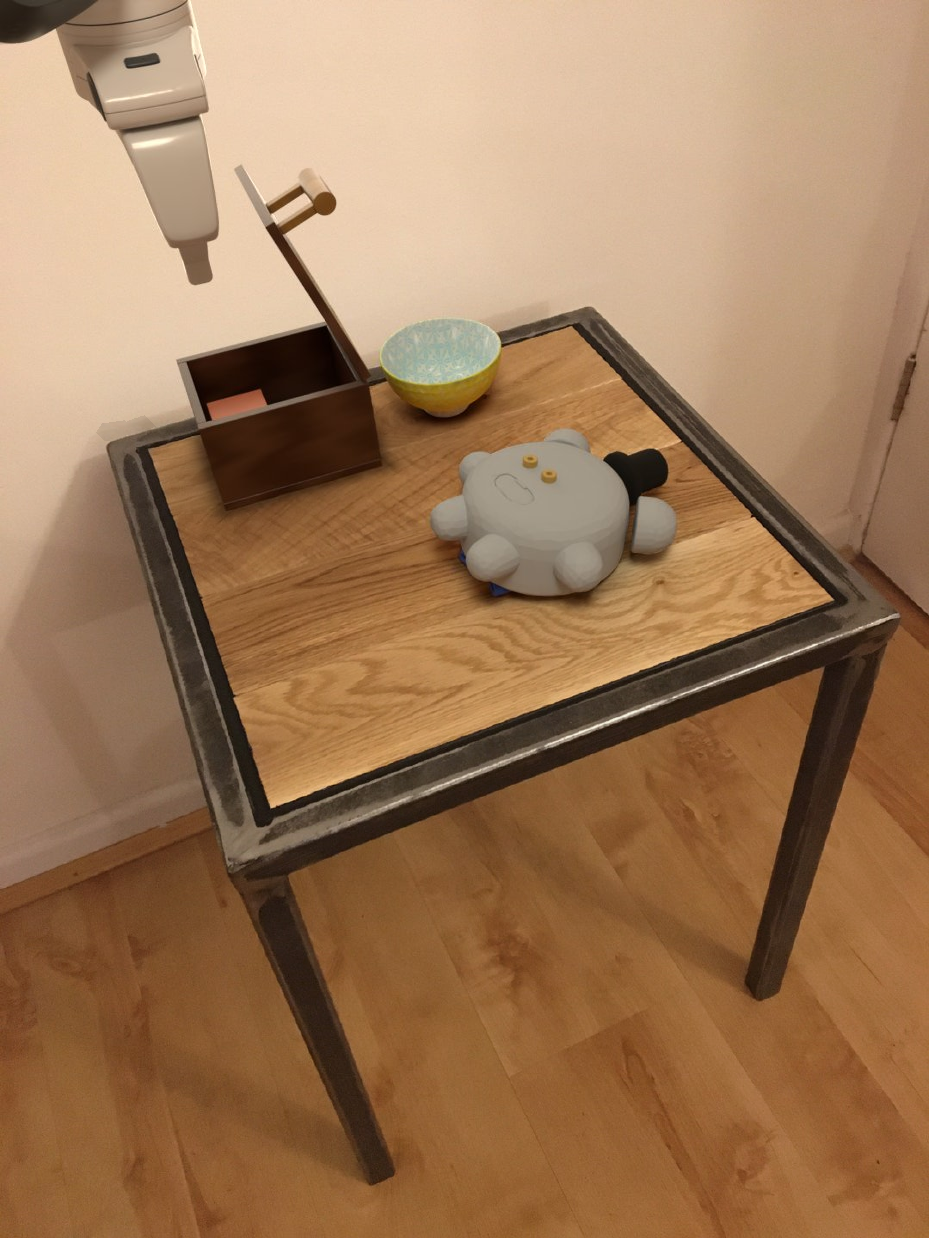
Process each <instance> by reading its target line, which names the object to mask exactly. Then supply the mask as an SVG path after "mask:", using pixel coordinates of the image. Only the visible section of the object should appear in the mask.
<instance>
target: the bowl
mask: <svg viewBox="0 0 929 1238" xmlns="http://www.w3.org/2000/svg"><path fill="white" fill-rule="evenodd" d="M501 357H502V341H501V339H500V336H499V334H498V333H497V332H496V331H495V330H494V329H493V328H492V327H490V326H488V325H487V324H485V323H483V322H480V321H477V320H474V319H470V318H465V317H453V316H449V317H447V316H446V317H445V316H444V317H433V318H428V319H422V320H418V321H416V322H413V323H409V324H407V325H405V326H404V327H401V328H399V329H397V330H396V331H394V332H393V333H392V334H391V335H389V336H388V337H387V339H385V341H384V342H383V344H382V345H381V347H380V350H379V357H378V358H379V364H380V367H381V370H382V373H383V375H384V378H385V380H386V382H387V383H388V385H389V387H391V389H392V391H393V392H394V393H395V394H396V395H397V396H398V397H399V398H401V399H402V400H403V401H404V402H406V403H407V404H409V405H411V406H412V407H415V408H417V409H420V410H424V411H425V412H426V413H427V414H428V415H430V416H432V417H435V418H450V417H451V418H452V417H455V416H458V415H460V414H461V413H463V412H465V411H466V410H467V409H468V407H469V405H470V404H473V402H475V401H477V400H478V399H479V398H481V397H482V396H483V395H484V393H485V392H486V391H488V389H490V386H491V385H492V383H493V382H494V380H495V377H496V375H497V373H498V370H499V366H500V363H501Z"/></svg>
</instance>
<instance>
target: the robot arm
mask: <svg viewBox="0 0 929 1238" xmlns="http://www.w3.org/2000/svg"><path fill="white" fill-rule="evenodd" d="M54 30H55V31H56V34H57V37H58V39H59V44H60V47H61V50H62V54H63V57H64V58H65V59H64V60H65V62H66V64H67V65H66V66H67V67H68V68H67V69H68V71H69V74H70V76H71V77H70V78H71V80H72V83H73V86H74V90H75V92H76V94H77V95H78V96H79V97H80V98H81V99H83V100H85V101H87V102H89V104H90V105H91V106H92V107H94V109H96V110H97V111H98V112H99V114H100V116H101V117H102V119H103V121H104V122H106V125H107V127H108V129H109V130H110V131H112V132H115V133H116V135H117V136H118V138H119V140H120V141H121V143H122V145H123V147H124V150H125V151H126V154H127V156H128V158H129V161H130V163H131V165H132V167H133V169H134V170H133V171H134V172H135V175H136V177H137V179H138V181H139V184H140V187H141V189H142V191H143V193H144V196H145V198H146V201H147V203H148V205H149V208H150V211H151V213H152V215H153V217H154V219H155V222H156V224H157V226H158V228H159V231H160V233H161V235H162V238H163V240H164V241H165V242H166V244H167V246H168V247H169V248H171V249H177V250H178V252H179V255H180V258H181V262H182V265H183V268H184V272H185V275H186V277H187V280H188V283H190V285H193V286H198V285H204V284H208V283H210V282H212V281H213V279H214V278H213V277H214V275H213V271H212V267H211V264H210V259H209V258H210V257H209V249H208V247H209V245H208V243H209V242H212V241H215V240H217V239H218V237H219V236H220V235H219V234H220V216H219V215H220V214H219V206H218V201H217V193H216V188H215V182H214V181H215V180H214V176H213V169H212V162H211V157H210V150H209V145H208V139H207V134H206V128H205V125H204V124H205V123H204V121H203V117H202V115H204V114H205V115H206V114H208V113H209V112H210V104H209V98H208V93H207V89H206V85H205V78H206V76H207V66H206V62H205V57H204V53H203V50H202V44H201V41H200V36H199V31H198V27H197V22H196V17H195V14H194V10H193V6H192V1H191V0H0V45H14V44H24V43H28V42H29V43H30V42H32V41H35V40H36V39H39V38H41V37H43V36H45V35H47V34H49V33H50V32H52V31H54Z"/></svg>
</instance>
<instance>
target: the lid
mask: <svg viewBox="0 0 929 1238" xmlns="http://www.w3.org/2000/svg"><path fill="white" fill-rule="evenodd" d="M233 172H234V173H235V175H236V177H237V179H238V181H239V183H240V184H241V186H242V188H243V190H244V192H245V194H246V196H247V197H248V199H249V201H250V202H251V203H250V204H251V205H252V207H253V208H254V210H255V212H256V214H257V215H258V218H259V219H260V221H261V223H262V225H263V227H264V228H265V230H266V231H267V234H268V235H269V236H270V238H271V239H272V241H273V242H274V245H276V247H277V249H278V250H279V252H280V253H281V256H282V257H283V258H284V259H285V261H286V263H287V264H288V266H289V268H290V269H291V270H292V273H294V275H295V276H296V278H297V280H298V281H299V283H300V284H301V286H302V287H303V289H304V291H305V292H306V293H307V295H308V297H309V299H310V300H311V301H312V303H313V304H314V306H315V307H316V309H317V311H318V312H319V314H320V315H321V317H322V318H323V320H324V322H325V321H326V323H327V325H328V326H329V328H330V329H331V331H332V332H333V334H334V335H335V337H336V338H337V340H338V342H339V343H340V345H341V346H342V348H343V349H344V351H345V352H346V354H347V356H348V357H349V359H350V360H351V362H352V363H353V365H354V366H355V368H356V369H357V371H358V373H359V374H360V376H361V377H362V379H363V380H364V381H365V380H367V379H370V378H371V377H372V373H371V372H370V370H369V368H368V367H367V365H366V363H365V361H364V360H363V358H362V357H361V354H360V353H359V351H358V350H357V348H356V346H355V344H354V342H353V340H352V339H351V337H350V335H349V334H348V332H347V331H346V328H345V327H344V325H343V323H342V322H341V319H340V318H339V316H338V315H337V313H336V311H335V309H334V307H332V305H331V304H330V302H329V300H328V298H327V297H326V295H325V294H324V292H323V291H322V289H321V288H320V286H319V284H318V283H317V281H316V280H315V278H314V276H313V274H312V273H311V271H310V270H309V268H308V267H307V265H306V264H305V262H304V261H303V259H302V258H301V255H300V254H299V253H298V251H297V250H296V248H295V246H294V245H293V243H292V241H291V240H290V238H289V237H288V234H287V233H289V232H291V231H292V230H294V229H296V228H297V227H298V226H300V225H301V224H303V223H305V222H306V221H307V220H309V219H311V218H312V217H314V216H315V215H317V214H318V215H320V216H324V217H325V216H330V215H331V214H333V212H334V211H335V210H336V208H337V198H336V196H335V195H334V193H333V192H332V191H331V189H330V188H329V186H328V185H327V184H326V181H324V179H323V178H322V176H321V175H320V174H319V172H318V170H316V169H315V168H312V167H305V168H304V169H302V170H301V171H300V172H299V173H298V175H297V182H296V183H295V184H293V185H292V186H291V187H289V188H288V189H286V190H285V191H283V192H282V193H281V192H280V194H278V195H277V196H275V197H274V198H272V199H271V200H269V201H266V200H265V199H264V197H263V195H262V194H261V193H260V190H259V189H258V188H257V186H256V184H255V183H254V181H253V180H252V178H251V176H250V175H249V173H248V171H247V170H246V168H245V167H244V165H243V164H242V163H241V164H239V165H237V166H236V167H235V168H233ZM302 195H304V196H305V198H306V199H307V201H308V202H309V203H307V204H305V205H304V206H302V207H301V208H300V209H298V210H296V211H295V212H294V213H291V214H290V215H288V216H287V217H286V218H284V219H283V220H281V221H278V219H277V218H276V216H275V213H276V212H278V211H279V210H281V209H283V208H284V207H285V206H287V205H289V204H290V203H291V202H293V201H295V200H296V199H297V198H299V197H301V196H302Z"/></svg>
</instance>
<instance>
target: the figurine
mask: <svg viewBox="0 0 929 1238" xmlns="http://www.w3.org/2000/svg"><path fill="white" fill-rule="evenodd" d="M668 477H669V466H668V462H667V459H666V458H665V456H664V455H663V453H662V452H661V451H660V450H658V449H656V448H651V447H650V448H649V447H647V448H645V449H642V450H639V451H637V452H634V453H631V454H627V453H626V452H624V451H620V450H616V451H613V452H609V453H608V454H606V455H605V456H604V457H603V459H601V458H600V457H598V456H596V455H594V454H592V452H591V446H590V443H589V441H588V439H587V437H585V435H583V434H582V433H581V432H579V431H578V430H575V429H572V428H566V427H565V428H557V429H555V430H553V431H551V432H550V433H549V434H547V435H546V436H545V437H544V439H543V440H542V441H533V442H524V443H519V444H515V445H511V446H506V447H504V448H502V449H498V450H497V451H493V452H492V453H490V452H487V451H482V450H481V451H478V450H477V451H473V452H471V453H469V454H467V455H465V456H464V458H463V459H462V460H461V461H460V464H459V467H458V478H459V480H460V483H461V484H462V491H461V494H459V495H456V496H453V497H449V498H446V499H445V500H443V501H441V502H439V503H437V505H435V506H434V507H433V508H432V510H431V511H430V514H429V524H430V529H431V530H432V532H433V534H434V536H435V537H437V538H438V539H439V540H441V541H444V542H456V541H457V542H458V541H460V546H461V549H462V550H461V551H460V552H459V555H458V556H459V559H460V561H461V562H462V563H463V564H465V565H466V568H467V571H468V572H469V574H470V575H471V576H472V577H473V578H474V579H476V580H479V581H482V582H488V585H489V588H490V591H491V594H492V595H493V596H494V597H498V596H503V595H505V594H508V593H511V592H515V593H518V594H522V595H527V596H535V597H536V596H537V597H557V596H566V595H570V594H574V593H585V592H589V591H591V590H593V589H594V588H596V586H598V584H600V582H601V581H604V580H605V579H606V578H608V576H609V575H611V574H612V573H613V572H614V570H615V569H616V568H617V566H618V565H619V563H620V561H621V559H622V556H623V553H624V549H625V542H626V537H627V532H628V525H629V519H630V507H634V506H635V505H636V506H635V510H634V516H633V521H632V531H631V543H630V550H631V552H632V553H634V554H643V555H653V554H657V553H660V552H662V551H664V550H666V549H668V548H669V546H671V545H672V543H673V542H674V541H675V538H676V535H677V531H678V517H677V514H676V511H675V510H674V509H673V507H672V506H671V505H670V504H668V503H667V502H666V501H665V500H662V499H661V498H657V497H652V496H643V495H642V494H645V493H648V492H649V491H652V490H655V489H657V488H660V487H662V486H663V485H664V484H666V483H667V480H668Z"/></svg>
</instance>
